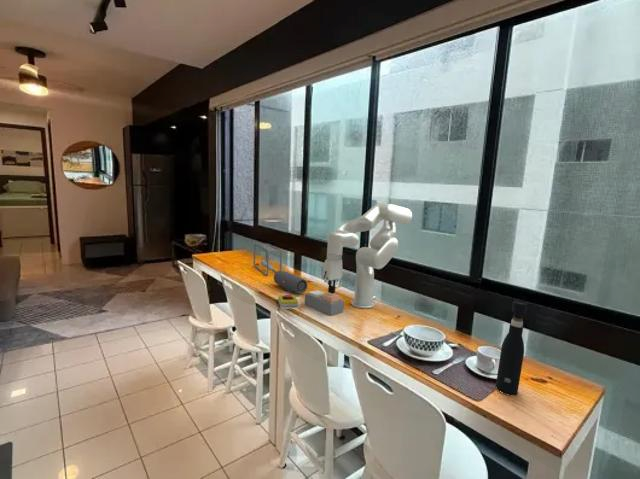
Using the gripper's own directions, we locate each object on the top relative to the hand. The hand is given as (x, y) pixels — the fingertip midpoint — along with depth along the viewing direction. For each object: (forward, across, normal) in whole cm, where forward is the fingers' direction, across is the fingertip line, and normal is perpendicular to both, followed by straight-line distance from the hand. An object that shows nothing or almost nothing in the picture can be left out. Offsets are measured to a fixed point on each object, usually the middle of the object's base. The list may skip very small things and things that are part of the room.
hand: (331, 292), depth 173 cm
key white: (+8, 0, -10) cm, 13 cm away
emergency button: (+11, +10, -21) cm, 26 cm away
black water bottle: (+10, +3, +84) cm, 85 cm away
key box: (+10, 0, -5) cm, 11 cm away
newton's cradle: (+10, -20, -83) cm, 86 cm away
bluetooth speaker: (+10, -5, -39) cm, 41 cm away
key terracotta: (+6, 0, 0) cm, 6 cm away
